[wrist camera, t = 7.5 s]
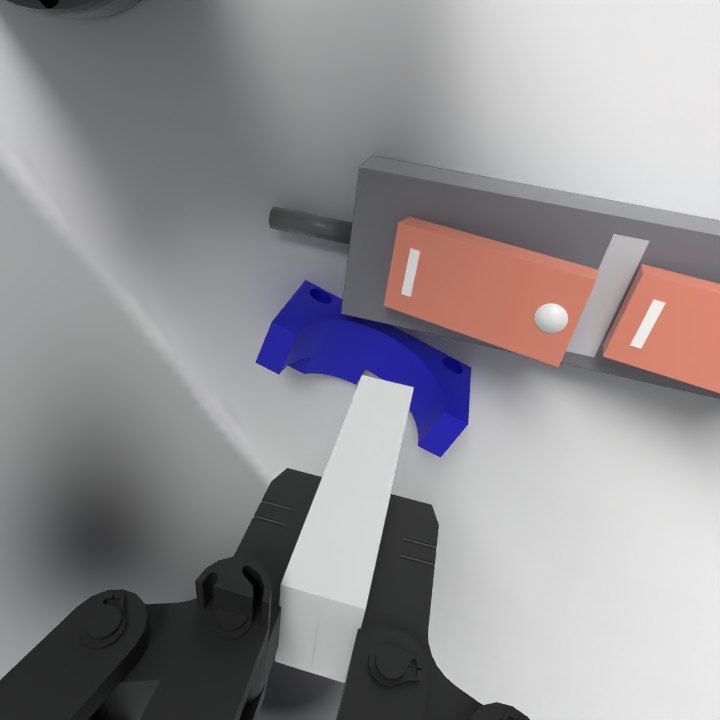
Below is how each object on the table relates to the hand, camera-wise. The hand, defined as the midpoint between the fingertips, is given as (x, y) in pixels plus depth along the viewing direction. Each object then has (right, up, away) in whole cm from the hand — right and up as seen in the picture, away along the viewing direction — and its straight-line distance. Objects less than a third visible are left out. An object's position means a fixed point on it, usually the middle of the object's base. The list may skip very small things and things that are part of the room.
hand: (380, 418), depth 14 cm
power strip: (+10, +7, +13) cm, 18 cm away
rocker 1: (+6, +5, +9) cm, 12 cm away
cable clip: (0, +3, +18) cm, 19 cm away
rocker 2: (+16, +3, +8) cm, 18 cm away
